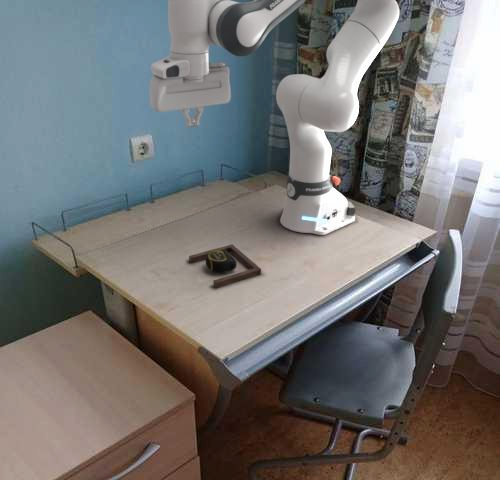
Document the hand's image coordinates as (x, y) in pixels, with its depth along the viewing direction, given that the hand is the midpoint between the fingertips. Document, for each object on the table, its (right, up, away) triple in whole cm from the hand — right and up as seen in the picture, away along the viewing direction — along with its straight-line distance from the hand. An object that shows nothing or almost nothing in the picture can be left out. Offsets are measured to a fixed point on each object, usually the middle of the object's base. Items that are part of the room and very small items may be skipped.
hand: (192, 125), depth 127 cm
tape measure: (+7, -35, +2) cm, 36 cm away
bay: (+7, -35, +1) cm, 36 cm away
